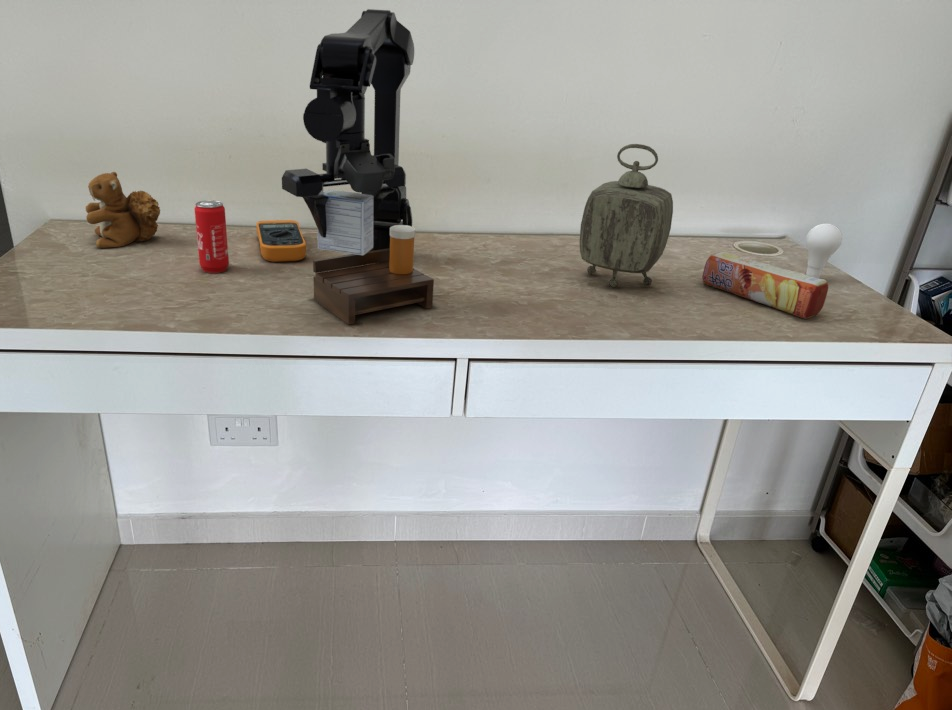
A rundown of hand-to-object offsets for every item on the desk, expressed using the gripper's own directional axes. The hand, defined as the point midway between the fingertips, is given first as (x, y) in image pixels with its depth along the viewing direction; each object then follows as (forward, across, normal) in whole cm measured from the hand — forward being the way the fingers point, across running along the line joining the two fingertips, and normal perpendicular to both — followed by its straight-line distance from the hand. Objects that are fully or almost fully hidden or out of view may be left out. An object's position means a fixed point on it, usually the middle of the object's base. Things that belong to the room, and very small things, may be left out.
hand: (345, 234), depth 121 cm
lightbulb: (+13, +88, -28) cm, 93 cm away
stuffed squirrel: (+13, -22, +51) cm, 57 cm away
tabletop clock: (+13, +50, -12) cm, 53 cm away
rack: (+12, +5, -1) cm, 13 cm away
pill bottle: (+7, +10, -1) cm, 13 cm away
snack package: (+13, +68, -30) cm, 75 cm away
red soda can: (+13, -12, +27) cm, 32 cm away
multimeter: (+13, +4, +33) cm, 36 cm away
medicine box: (+3, 0, 0) cm, 3 cm away
